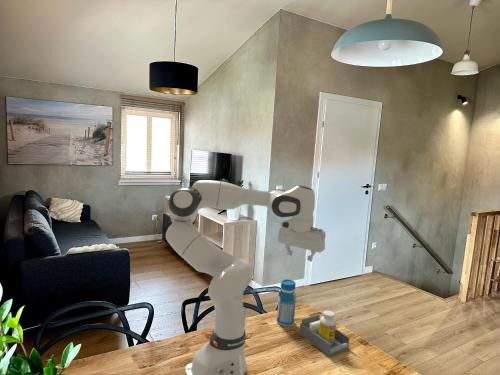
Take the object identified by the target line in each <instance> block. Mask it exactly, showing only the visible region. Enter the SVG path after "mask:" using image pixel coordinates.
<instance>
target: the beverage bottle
mask: <svg viewBox="0 0 500 375" xmlns="http://www.w3.org/2000/svg"><path fill="white" fill-rule="evenodd" d="M295 291H296V281H294V280H292V279H283V280H281V282H280V291H279V293H278V299H277V303H278V305H277V317H276V321H277V322H276V323H278V325H281V326H282V327H291V326H293V325H294V323H295V314H296V313H295V311H296V305H297V299H296V298H297V294H296V292H295Z"/></svg>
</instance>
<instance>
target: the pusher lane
mask: <svg viewBox="0 0 500 375" xmlns="http://www.w3.org/2000/svg"><path fill="white" fill-rule="evenodd" d="M320 319H321V316H320V314H319V313H317V314H314V315H311V316H308V317H304V318H301V323H299V335H300V336H301V337H302V338H303V339H305V340H306V341H307V342H309V343H310V344H311V345H313V346H314V347H316V348H317V349H319V351H321V352H322V353H324V354H325V355H326V356H328V357H331V356H333V355H337V354H339V353H341V352H343V351H346V350H348V349H349V348H350V336H348V335H347V334H346V333H344V332H343V331H340V330H339V329H338V328H336V329H335V339H334V343H333V344H332V345H331V344H330V343H329V342H327V341H326V340H325V339H323V338H322V337H320V336H319V335H318V334H316V333H315V332H313V331H312V330H310V329H309V327H310V323H312V322H315V321H319V320H320Z"/></svg>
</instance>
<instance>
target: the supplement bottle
mask: <svg viewBox="0 0 500 375" xmlns="http://www.w3.org/2000/svg"><path fill="white" fill-rule="evenodd" d="M322 315H323V316H320V327H319V336H320V337H322V338H323V339H325V340H326V341H327V342H329V343H330V344H331V345H332V344H333V343H334V339H335V329H337V321H336V319H335V312H333V311H331V310H324V311H323V312H322Z"/></svg>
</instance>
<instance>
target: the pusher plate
mask: <svg viewBox="0 0 500 375" xmlns="http://www.w3.org/2000/svg"><path fill="white" fill-rule="evenodd" d="M319 327H320V320H319V321H315V322H312V323H310V327H309V329H310V330H312V331H313V332H315V333H316V334H318V335H319Z"/></svg>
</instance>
